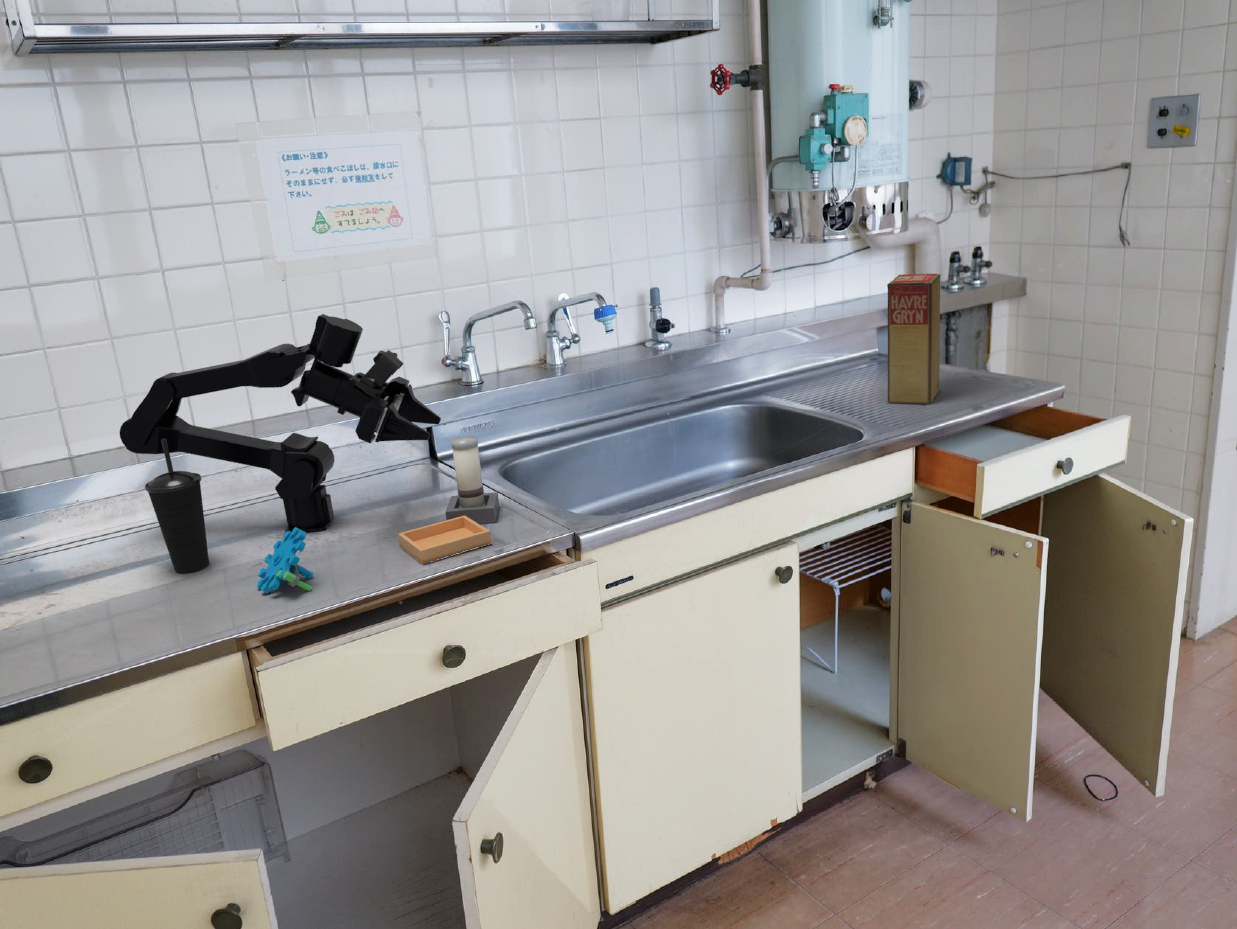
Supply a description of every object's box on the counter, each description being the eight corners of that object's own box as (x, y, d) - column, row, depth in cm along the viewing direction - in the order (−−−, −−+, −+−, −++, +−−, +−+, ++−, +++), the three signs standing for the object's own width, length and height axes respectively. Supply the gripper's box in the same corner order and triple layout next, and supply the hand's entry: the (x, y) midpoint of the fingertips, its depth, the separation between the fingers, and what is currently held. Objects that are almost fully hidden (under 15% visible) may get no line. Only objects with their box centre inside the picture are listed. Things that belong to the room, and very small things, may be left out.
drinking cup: (185, 581, 144) (155, 449, 138) (153, 572, 148) (123, 444, 142) (230, 561, 150) (203, 434, 144) (198, 553, 154) (170, 429, 148)
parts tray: (422, 565, 143) (420, 550, 142) (399, 547, 150) (397, 533, 149) (491, 544, 148) (489, 531, 147) (466, 528, 155) (464, 515, 155)
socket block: (447, 526, 157) (445, 511, 156) (453, 510, 164) (451, 495, 163) (495, 522, 157) (493, 507, 156) (499, 506, 164) (497, 492, 163)
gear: (250, 566, 143) (293, 513, 142) (285, 585, 146) (328, 533, 145) (256, 605, 133) (302, 548, 133) (293, 624, 136) (338, 569, 136)
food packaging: (896, 388, 218) (897, 273, 211) (941, 389, 214) (943, 272, 207) (885, 403, 207) (886, 282, 199) (932, 405, 203) (934, 282, 195)
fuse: (459, 522, 158) (449, 444, 154) (462, 512, 162) (452, 436, 158) (485, 519, 158) (476, 442, 155) (488, 510, 162) (478, 434, 159)
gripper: (341, 355, 144) (442, 397, 146) (373, 332, 162) (462, 370, 163) (316, 423, 147) (415, 463, 149) (350, 393, 165) (438, 430, 167)
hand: (434, 428), depth 157 cm, fingers open, 9 cm apart
